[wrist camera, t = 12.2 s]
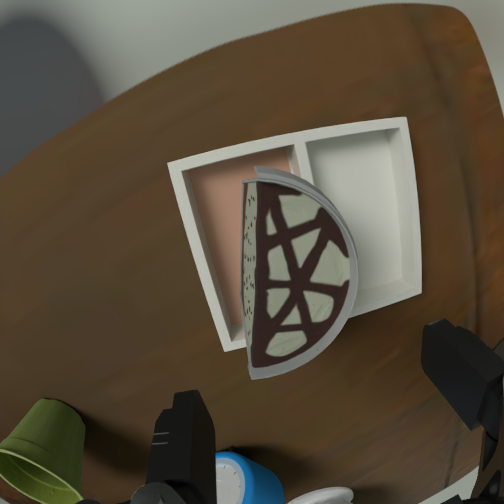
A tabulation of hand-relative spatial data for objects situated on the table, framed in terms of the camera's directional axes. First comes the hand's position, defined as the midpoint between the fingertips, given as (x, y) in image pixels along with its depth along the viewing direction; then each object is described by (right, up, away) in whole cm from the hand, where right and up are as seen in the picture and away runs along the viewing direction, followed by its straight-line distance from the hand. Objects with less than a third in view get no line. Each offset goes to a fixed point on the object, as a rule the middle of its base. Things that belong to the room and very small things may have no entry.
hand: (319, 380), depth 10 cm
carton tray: (+2, +6, +17) cm, 18 cm away
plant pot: (-26, -16, +21) cm, 37 cm away
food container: (0, +5, +16) cm, 17 cm away
